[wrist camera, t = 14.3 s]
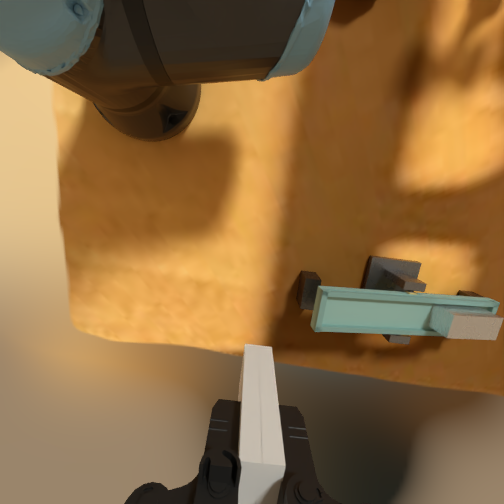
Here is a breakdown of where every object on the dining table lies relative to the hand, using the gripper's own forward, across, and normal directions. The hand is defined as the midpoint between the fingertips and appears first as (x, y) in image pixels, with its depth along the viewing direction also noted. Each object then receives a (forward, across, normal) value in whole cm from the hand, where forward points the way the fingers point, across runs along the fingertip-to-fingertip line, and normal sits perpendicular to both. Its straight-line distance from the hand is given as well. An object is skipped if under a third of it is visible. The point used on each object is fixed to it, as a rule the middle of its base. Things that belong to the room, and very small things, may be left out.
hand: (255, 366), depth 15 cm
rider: (+24, +31, -5) cm, 39 cm away
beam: (+23, +23, -5) cm, 33 cm away
